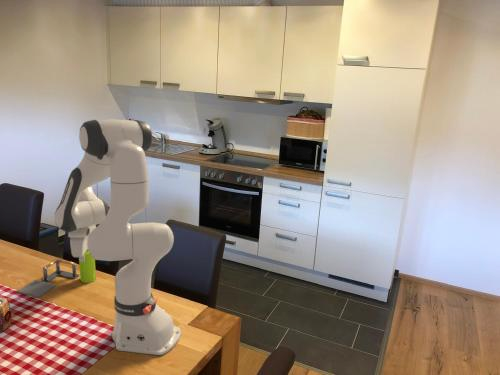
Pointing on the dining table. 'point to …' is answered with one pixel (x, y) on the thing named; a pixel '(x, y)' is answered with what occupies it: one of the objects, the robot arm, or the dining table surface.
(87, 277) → the soap dispenser
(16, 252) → the dining table surface
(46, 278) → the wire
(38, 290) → the mat
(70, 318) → the dining table surface
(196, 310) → the dining table surface
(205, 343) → the dining table surface
